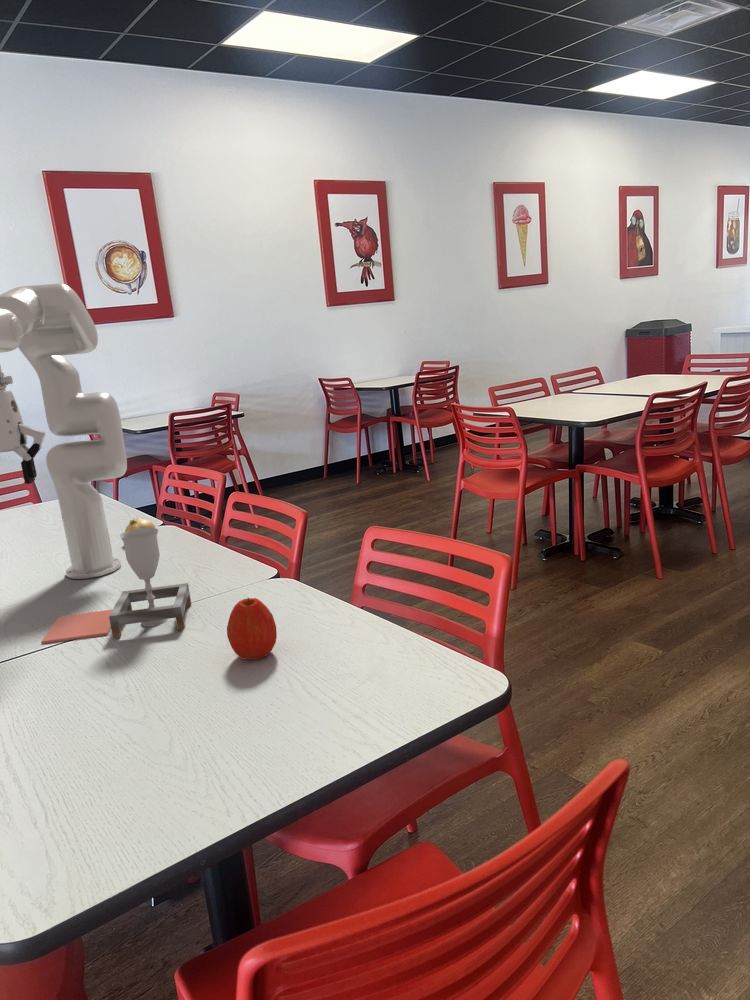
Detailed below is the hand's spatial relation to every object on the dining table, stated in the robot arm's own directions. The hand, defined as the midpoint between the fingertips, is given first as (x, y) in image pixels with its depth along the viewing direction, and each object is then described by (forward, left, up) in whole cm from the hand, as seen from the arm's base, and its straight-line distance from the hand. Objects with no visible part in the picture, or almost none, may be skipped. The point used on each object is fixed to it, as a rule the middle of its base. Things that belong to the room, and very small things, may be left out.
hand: (1, 485), depth 122 cm
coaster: (-9, +6, -31) cm, 33 cm away
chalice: (-7, +20, -31) cm, 38 cm away
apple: (+15, +40, -31) cm, 53 cm away
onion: (-66, +8, -32) cm, 73 cm away
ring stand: (-7, +20, -31) cm, 38 cm away
